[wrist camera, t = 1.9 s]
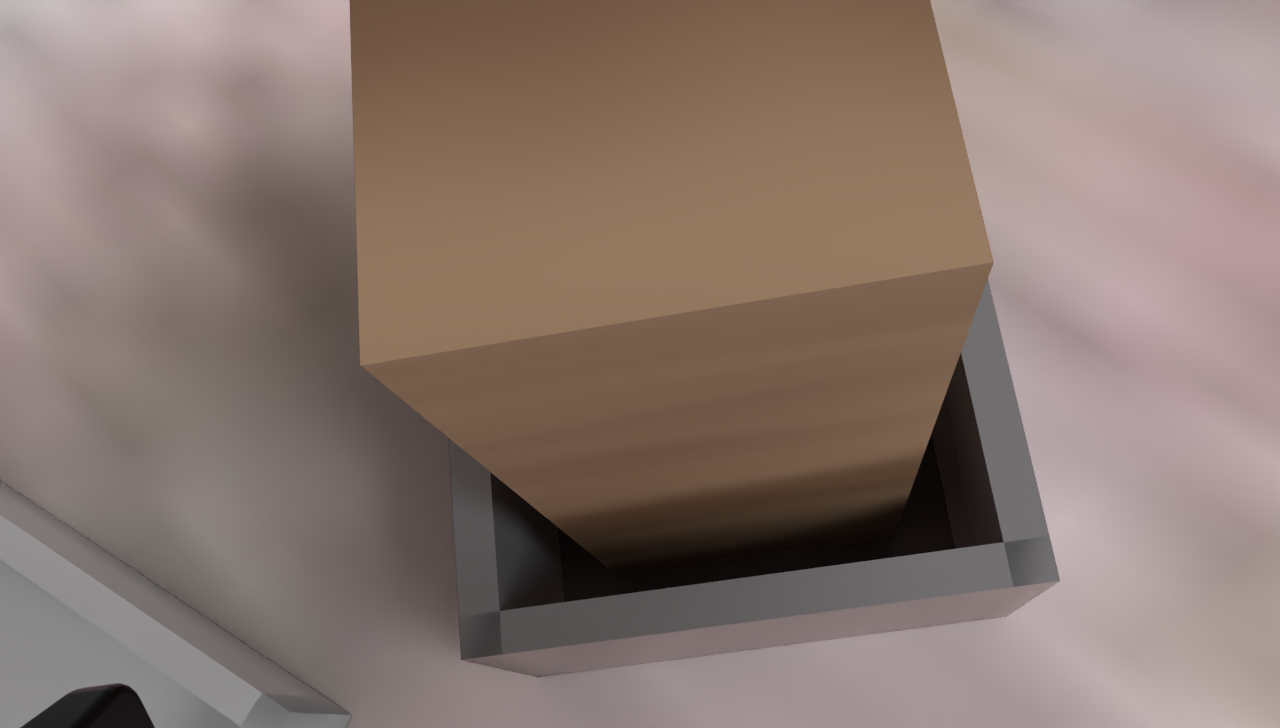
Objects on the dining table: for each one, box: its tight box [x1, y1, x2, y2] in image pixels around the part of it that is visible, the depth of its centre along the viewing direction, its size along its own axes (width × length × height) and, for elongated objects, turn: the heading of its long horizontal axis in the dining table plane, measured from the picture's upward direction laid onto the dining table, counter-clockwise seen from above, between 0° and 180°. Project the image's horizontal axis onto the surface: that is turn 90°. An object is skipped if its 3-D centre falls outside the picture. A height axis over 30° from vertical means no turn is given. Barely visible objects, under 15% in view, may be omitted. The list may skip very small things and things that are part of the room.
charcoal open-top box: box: [449, 279, 1060, 677], centre depth 19 cm, size 8×8×4 cm
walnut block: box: [350, 0, 993, 575], centre depth 15 cm, size 5×5×12 cm
